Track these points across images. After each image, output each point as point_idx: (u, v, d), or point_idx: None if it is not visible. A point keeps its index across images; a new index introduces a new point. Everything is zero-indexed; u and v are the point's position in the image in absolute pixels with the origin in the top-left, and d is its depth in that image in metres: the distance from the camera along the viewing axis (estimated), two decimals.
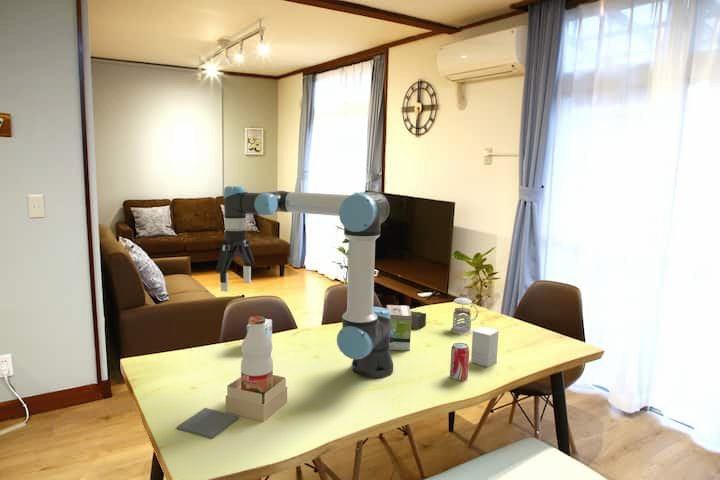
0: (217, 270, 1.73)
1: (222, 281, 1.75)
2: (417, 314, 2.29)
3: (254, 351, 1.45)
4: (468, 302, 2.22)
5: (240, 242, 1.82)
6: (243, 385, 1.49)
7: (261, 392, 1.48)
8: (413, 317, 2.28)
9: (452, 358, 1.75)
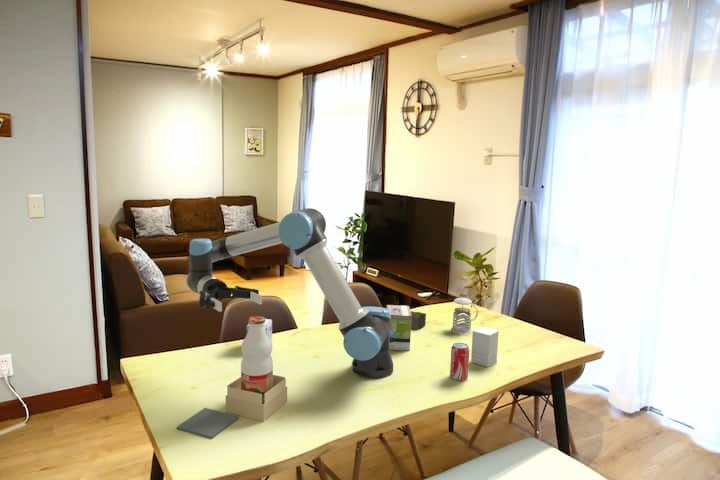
0: None
1: (210, 304, 1.53)
2: (417, 314, 2.29)
3: (254, 351, 1.45)
4: (468, 302, 2.22)
5: (222, 288, 1.69)
6: (243, 384, 1.49)
7: (261, 392, 1.48)
8: (413, 317, 2.28)
9: (452, 358, 1.75)
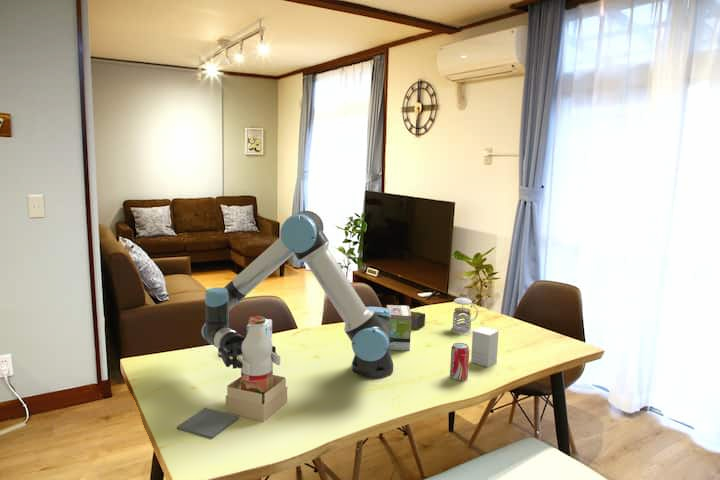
0: (226, 363, 1.48)
1: (238, 364, 1.46)
2: (416, 314, 2.29)
3: (255, 351, 1.45)
4: (468, 302, 2.22)
5: (241, 342, 1.62)
6: (242, 384, 1.49)
7: (261, 392, 1.48)
8: (412, 317, 2.27)
9: (452, 358, 1.75)
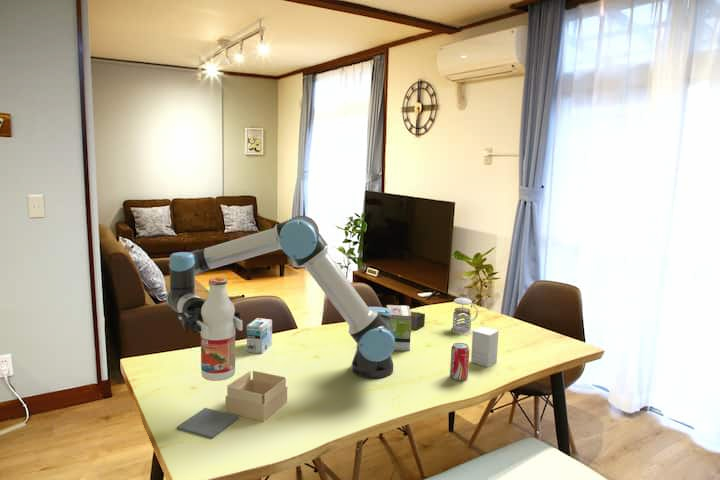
0: (184, 327, 1.39)
1: (196, 328, 1.37)
2: (416, 314, 2.29)
3: (214, 314, 1.37)
4: (468, 302, 2.22)
5: None
6: (202, 350, 1.40)
7: (221, 358, 1.39)
8: (412, 317, 2.27)
9: (452, 358, 1.75)
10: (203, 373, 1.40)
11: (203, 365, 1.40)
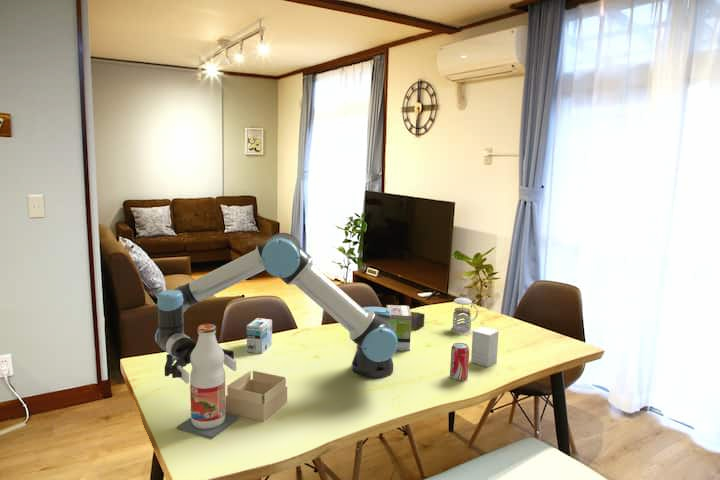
0: None
1: (176, 374, 1.35)
2: (415, 314, 2.29)
3: (203, 362, 1.35)
4: (468, 302, 2.22)
5: None
6: (191, 398, 1.38)
7: (211, 406, 1.37)
8: None
9: (452, 358, 1.75)
10: (193, 421, 1.39)
11: (193, 413, 1.38)
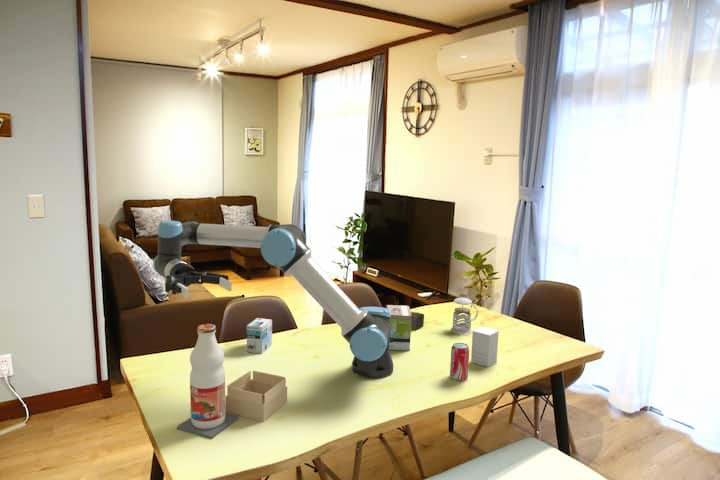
0: None
1: (176, 289, 1.47)
2: (415, 314, 2.29)
3: (203, 362, 1.35)
4: (468, 302, 2.22)
5: (190, 273, 1.62)
6: (191, 398, 1.38)
7: (211, 406, 1.37)
8: None
9: (452, 358, 1.75)
10: (193, 421, 1.39)
11: (193, 413, 1.38)
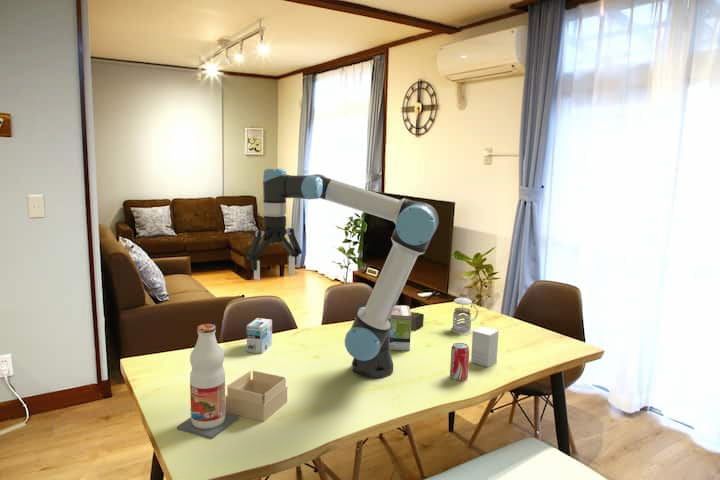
0: (247, 256, 1.64)
1: (253, 269, 1.65)
2: (414, 314, 2.29)
3: (203, 362, 1.35)
4: (468, 302, 2.22)
5: (280, 229, 1.69)
6: (191, 398, 1.38)
7: (211, 406, 1.37)
8: None
9: (452, 358, 1.75)
10: (193, 421, 1.39)
11: (193, 413, 1.38)
